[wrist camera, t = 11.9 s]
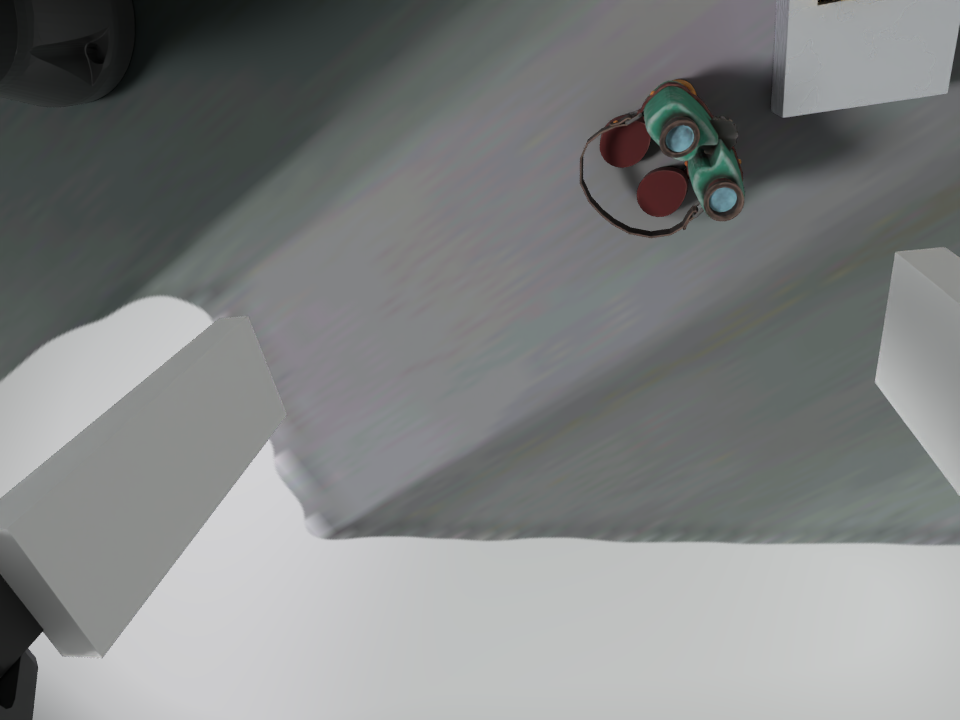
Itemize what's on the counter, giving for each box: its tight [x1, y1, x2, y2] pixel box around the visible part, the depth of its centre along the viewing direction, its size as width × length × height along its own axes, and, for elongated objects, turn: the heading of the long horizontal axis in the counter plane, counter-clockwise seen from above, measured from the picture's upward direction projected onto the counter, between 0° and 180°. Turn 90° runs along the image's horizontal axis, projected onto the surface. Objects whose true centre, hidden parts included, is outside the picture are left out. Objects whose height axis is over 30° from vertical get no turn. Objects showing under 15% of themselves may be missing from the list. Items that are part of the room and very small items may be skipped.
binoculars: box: [580, 79, 745, 238], centre depth 39 cm, size 9×11×10 cm
